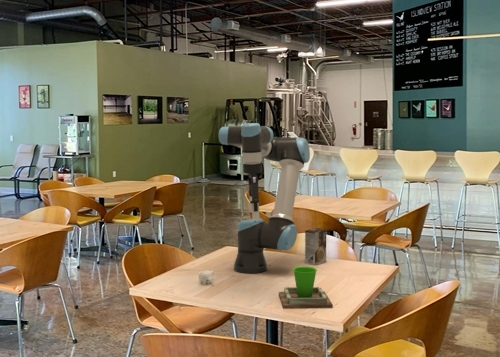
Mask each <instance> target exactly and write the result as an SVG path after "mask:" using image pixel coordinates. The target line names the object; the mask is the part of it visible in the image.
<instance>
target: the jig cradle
mask: <svg viewBox="0 0 500 357" xmlns="http://www.w3.org/2000/svg"><path fill="white" fill-rule="evenodd" d="M278 296H279V300H280V302H281V305H282V308H283V309H331V308H333V307H334V305H333V303H332V301H331V299H330V298H329V297H328V295H327V293H326V291H324V290H323V289H322V287H319V286H314V287H313V292H312V297H311V298H298V296H297V289H296V286H293V287H290V286H289V287H283V291H278Z"/></svg>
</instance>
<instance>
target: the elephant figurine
mask: <svg viewBox="0 0 500 357" xmlns="http://www.w3.org/2000/svg"><path fill="white" fill-rule="evenodd" d="M198 281H199V283H200V284H202V285H207V284H211V283H212V282H213V281H214V271H213V270H212V268H209V269H207V270H200V271H199V273H198Z"/></svg>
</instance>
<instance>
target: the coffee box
mask: <svg viewBox="0 0 500 357" xmlns="http://www.w3.org/2000/svg"><path fill="white" fill-rule="evenodd" d="M304 234H305V235H304V237H305V238H304V242H305V243H304V246H305V247H304V264H307V265H310V266H317V265H321V264H324V263H326V262H327V229H324V228H318V227H315V228H311V229H307V230H305V233H304Z"/></svg>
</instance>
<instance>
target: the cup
mask: <svg viewBox="0 0 500 357" xmlns="http://www.w3.org/2000/svg"><path fill="white" fill-rule="evenodd" d="M292 271H293V272H294V282H295V287H296V289H297V296H298V298H311V297H312V292H313V287H315V286H314V285H315V280H316V275H317V271H318V269H317V268H316V267H313V266H306V265H305V266H304V265H303V266H296V267H293V269H292Z"/></svg>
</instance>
